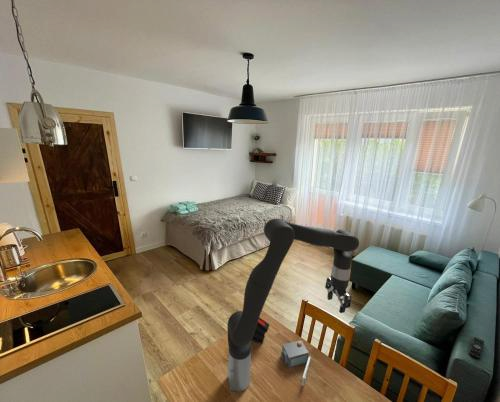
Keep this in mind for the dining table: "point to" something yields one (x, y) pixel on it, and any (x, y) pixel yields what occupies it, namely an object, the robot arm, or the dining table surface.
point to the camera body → (294, 353)
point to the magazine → (260, 331)
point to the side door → (306, 370)
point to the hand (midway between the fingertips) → (335, 305)
